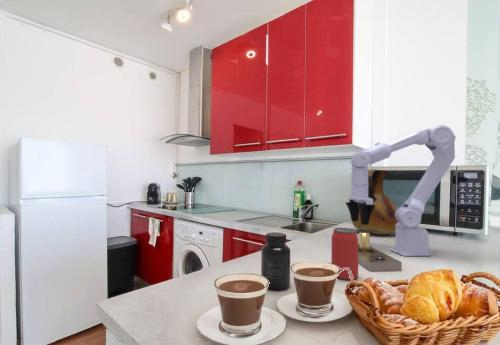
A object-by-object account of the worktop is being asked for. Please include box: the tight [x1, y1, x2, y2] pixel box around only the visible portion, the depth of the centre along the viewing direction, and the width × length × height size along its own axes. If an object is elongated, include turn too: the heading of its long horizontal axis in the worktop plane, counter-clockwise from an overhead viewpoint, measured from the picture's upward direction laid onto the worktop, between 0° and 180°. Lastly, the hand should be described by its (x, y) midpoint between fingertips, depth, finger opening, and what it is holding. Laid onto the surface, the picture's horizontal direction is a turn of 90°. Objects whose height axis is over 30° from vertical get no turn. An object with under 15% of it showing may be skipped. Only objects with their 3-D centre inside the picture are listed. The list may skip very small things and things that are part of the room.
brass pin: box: [358, 231, 371, 253], centre depth 85 cm, size 3×3×8 cm
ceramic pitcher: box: [351, 168, 398, 236], centre depth 125 cm, size 20×20×30 cm
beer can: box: [331, 227, 359, 281], centre depth 70 cm, size 7×7×12 cm
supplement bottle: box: [260, 231, 291, 292], centre depth 63 cm, size 7×7×12 cm
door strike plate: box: [358, 244, 403, 272], centre depth 85 cm, size 24×9×3 cm, turn 4°
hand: (359, 222), depth 97 cm, fingers open, 7 cm apart
